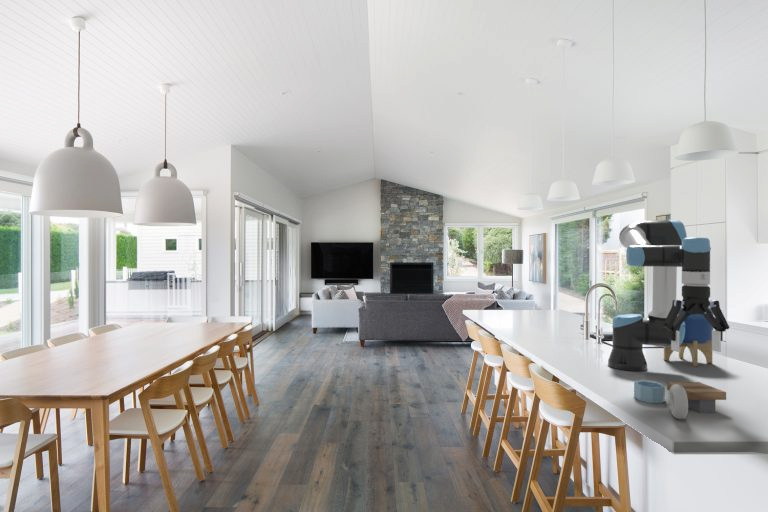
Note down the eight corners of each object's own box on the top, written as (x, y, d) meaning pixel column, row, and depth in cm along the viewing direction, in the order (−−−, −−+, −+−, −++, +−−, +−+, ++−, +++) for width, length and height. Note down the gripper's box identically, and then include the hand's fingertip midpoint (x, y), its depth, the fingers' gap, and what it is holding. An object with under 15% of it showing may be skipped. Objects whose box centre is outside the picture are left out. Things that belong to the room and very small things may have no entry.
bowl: (629, 395, 151) (629, 380, 152) (653, 395, 152) (653, 380, 152) (645, 403, 143) (645, 387, 143) (669, 403, 143) (669, 387, 143)
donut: (667, 412, 135) (667, 380, 135) (680, 413, 133) (680, 381, 133) (675, 423, 125) (675, 388, 125) (689, 425, 124) (690, 390, 124)
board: (667, 389, 145) (667, 382, 145) (699, 389, 145) (699, 382, 145) (691, 399, 134) (691, 392, 134) (726, 399, 134) (726, 392, 134)
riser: (677, 401, 145) (677, 389, 145) (691, 401, 145) (691, 389, 145) (699, 412, 135) (699, 399, 135) (715, 412, 135) (715, 399, 135)
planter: (721, 368, 191) (721, 308, 191) (671, 365, 197) (671, 307, 197) (703, 359, 209) (703, 304, 210) (657, 356, 215) (658, 303, 215)
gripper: (666, 285, 136) (666, 353, 136) (743, 286, 137) (743, 353, 136) (650, 284, 143) (650, 348, 143) (723, 285, 144) (723, 348, 144)
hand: (695, 351), depth 140 cm, fingers open, 13 cm apart
